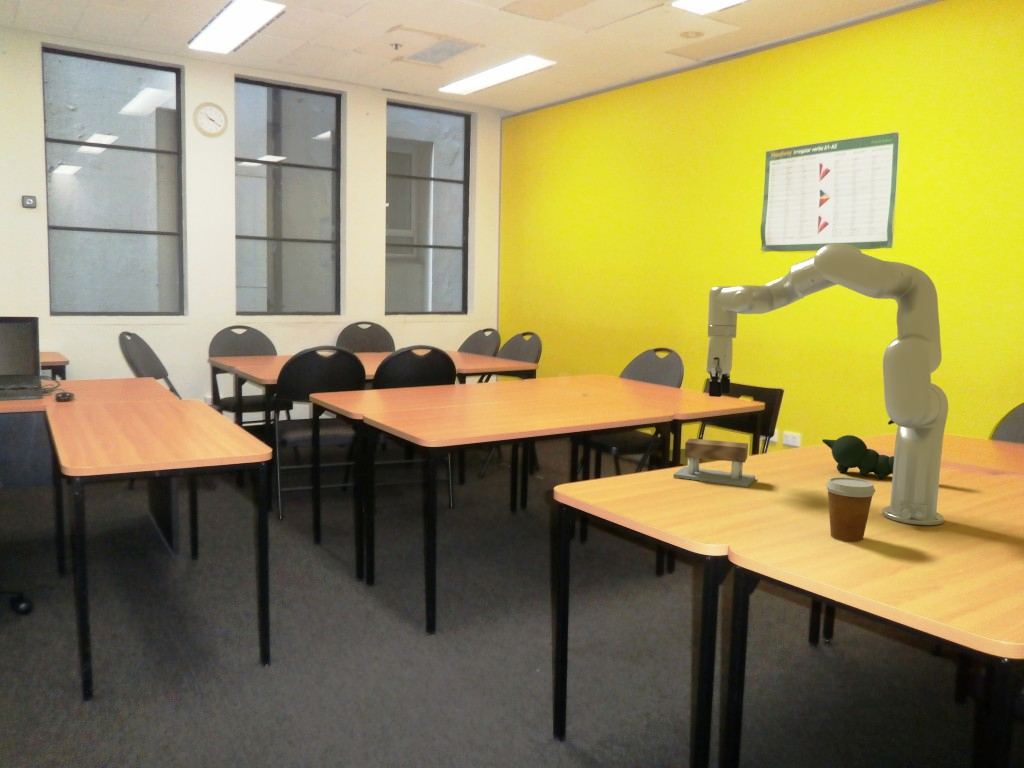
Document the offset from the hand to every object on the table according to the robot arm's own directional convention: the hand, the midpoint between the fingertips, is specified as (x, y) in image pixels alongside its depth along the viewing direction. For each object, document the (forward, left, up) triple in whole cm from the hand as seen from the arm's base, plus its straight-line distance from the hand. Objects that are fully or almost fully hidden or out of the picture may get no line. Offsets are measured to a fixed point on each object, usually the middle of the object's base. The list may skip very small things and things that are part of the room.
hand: (719, 394), depth 209 cm
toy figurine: (+28, -37, -24) cm, 52 cm away
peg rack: (0, 0, -24) cm, 24 cm away
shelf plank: (0, 0, -18) cm, 18 cm away
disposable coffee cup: (-38, -37, -24) cm, 58 cm away
